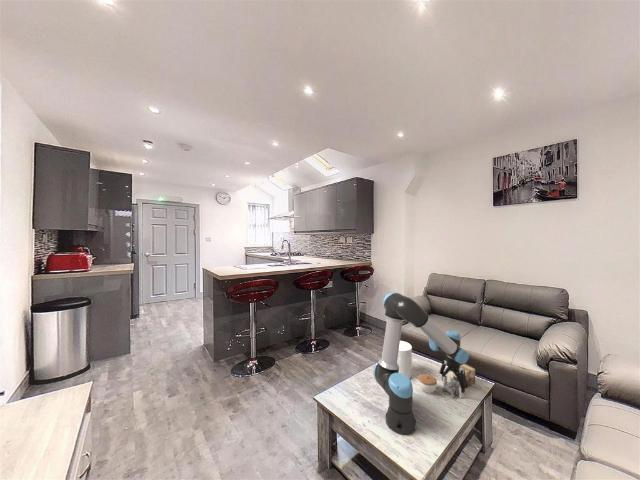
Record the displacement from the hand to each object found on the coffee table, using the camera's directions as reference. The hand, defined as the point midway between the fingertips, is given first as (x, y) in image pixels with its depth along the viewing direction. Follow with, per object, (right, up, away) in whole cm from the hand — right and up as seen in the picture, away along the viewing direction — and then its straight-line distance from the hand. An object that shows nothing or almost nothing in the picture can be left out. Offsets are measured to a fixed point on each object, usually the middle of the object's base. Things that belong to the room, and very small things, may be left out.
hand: (453, 391), depth 154 cm
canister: (-26, 0, +21) cm, 34 cm away
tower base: (+12, 0, +9) cm, 15 cm away
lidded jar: (-15, 0, +2) cm, 15 cm away
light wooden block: (+12, +5, +9) cm, 16 cm away
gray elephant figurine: (0, 0, 0) cm, 1 cm away
